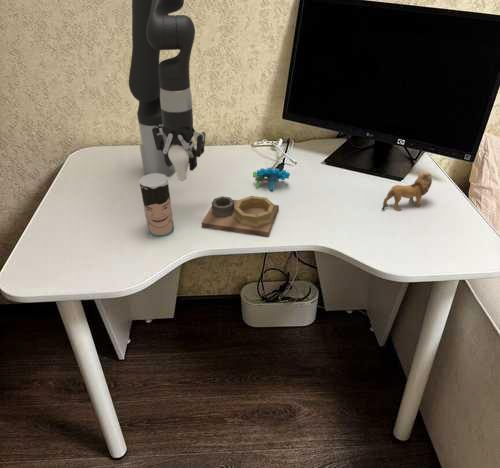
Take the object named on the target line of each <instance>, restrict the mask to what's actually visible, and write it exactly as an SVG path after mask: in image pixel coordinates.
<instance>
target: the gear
mask: <svg viewBox="0 0 500 468" xmlns="http://www.w3.org/2000/svg"><path fill="white" fill-rule="evenodd" d="M259 169H260V170H259ZM259 169H258V170H256V171H253V172H252V177H253V178H255V182H256V185H255V189H259V187H260V182H270V183H269V184H270V185H269V191H270V192H273V191H274V188H275V182H276V181H279V180H282V181H284V180H286V179H289V177H290V176H291V173H290V172H288V171H287V170H285V169H283V170H281V171H280V168H274V169H272V168H271V167H267V168H259Z"/></svg>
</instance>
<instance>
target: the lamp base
mask: <svg viewBox="0 0 500 468" xmlns="http://www.w3.org/2000/svg"><path fill="white" fill-rule="evenodd" d="M279 210H280V205H277V204H274V203H273V202H272V201H271V200H270V199H268V198H267V197H264V196H255V195H250V196H247V197H244V198H241V199H240V198H239V199H232V198H231V197H229V196H219V197H215V198H213V200H212V202H211V206H210V208H209V209H208V211H207V213H206V215H205V216H204V218H203V219H202V221H201V228H202V229H210V230H216V231H217V230H218V231H223V232H231V233H237V234H238V233H239V234H246V235H251V236H259V237H265V238H266V237H267V238H268V237H270V234H271V231H272V228H273V226H274V223H275V221H276V218H277V216H278V212H279Z"/></svg>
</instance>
